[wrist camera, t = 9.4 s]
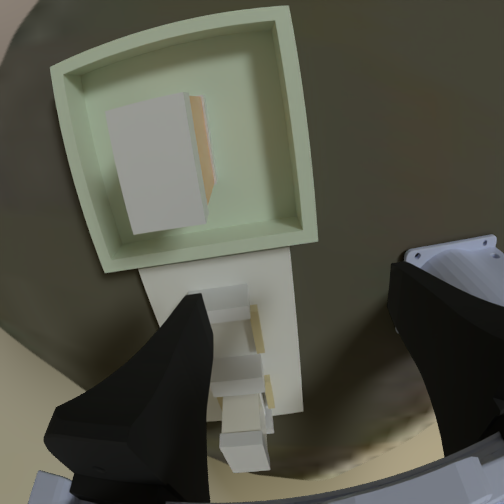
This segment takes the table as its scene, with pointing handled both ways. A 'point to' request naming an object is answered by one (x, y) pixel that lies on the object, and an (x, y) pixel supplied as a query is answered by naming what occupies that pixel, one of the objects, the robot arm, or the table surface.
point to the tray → (221, 125)
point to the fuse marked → (164, 161)
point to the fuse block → (240, 324)
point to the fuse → (244, 433)
